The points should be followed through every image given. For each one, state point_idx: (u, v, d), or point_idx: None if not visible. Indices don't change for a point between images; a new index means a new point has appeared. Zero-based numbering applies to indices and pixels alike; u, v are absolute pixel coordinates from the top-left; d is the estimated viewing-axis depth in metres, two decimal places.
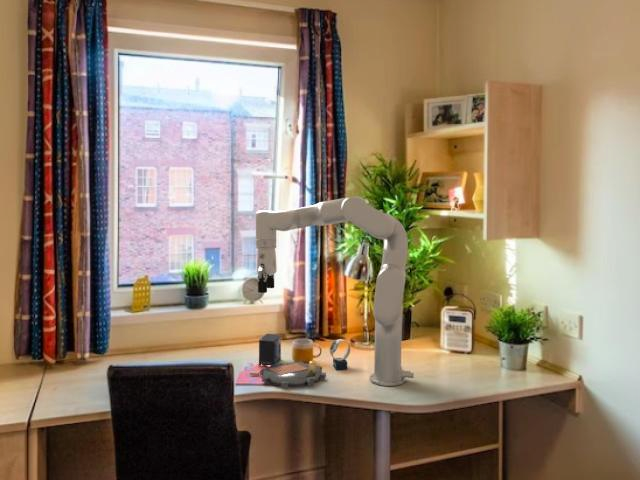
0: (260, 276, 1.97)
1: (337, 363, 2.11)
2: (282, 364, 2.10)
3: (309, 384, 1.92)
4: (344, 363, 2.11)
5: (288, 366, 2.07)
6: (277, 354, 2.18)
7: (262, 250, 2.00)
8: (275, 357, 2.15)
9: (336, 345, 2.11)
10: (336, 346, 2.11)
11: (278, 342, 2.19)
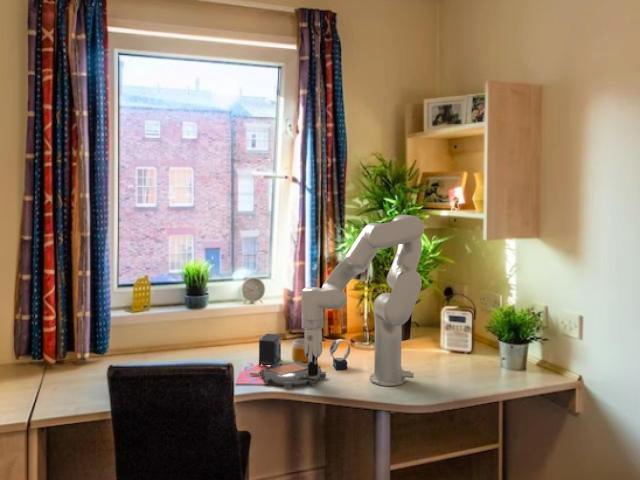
0: (311, 361, 1.90)
1: (337, 363, 2.11)
2: (280, 364, 2.09)
3: (312, 383, 1.92)
4: (344, 363, 2.11)
5: (287, 366, 2.06)
6: (277, 354, 2.18)
7: (310, 331, 1.88)
8: (275, 357, 2.15)
9: (336, 345, 2.11)
10: (336, 346, 2.11)
11: (278, 342, 2.19)
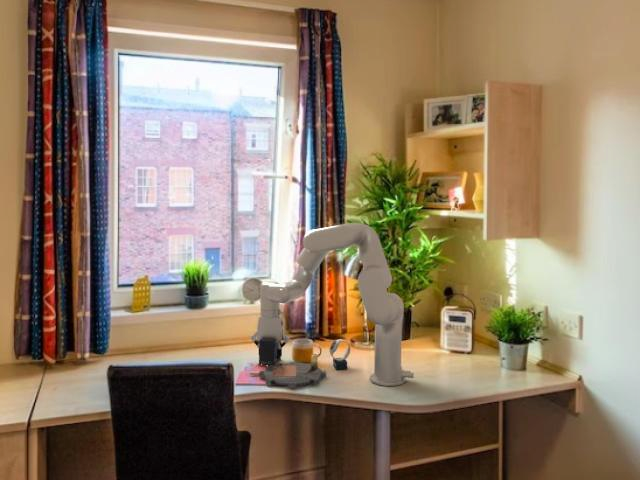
0: None
1: (337, 363, 2.11)
2: (268, 370, 2.02)
3: (325, 375, 2.02)
4: (344, 363, 2.11)
5: (278, 369, 2.03)
6: None
7: (281, 318, 2.18)
8: (275, 357, 2.15)
9: (336, 345, 2.11)
10: (336, 346, 2.11)
11: None
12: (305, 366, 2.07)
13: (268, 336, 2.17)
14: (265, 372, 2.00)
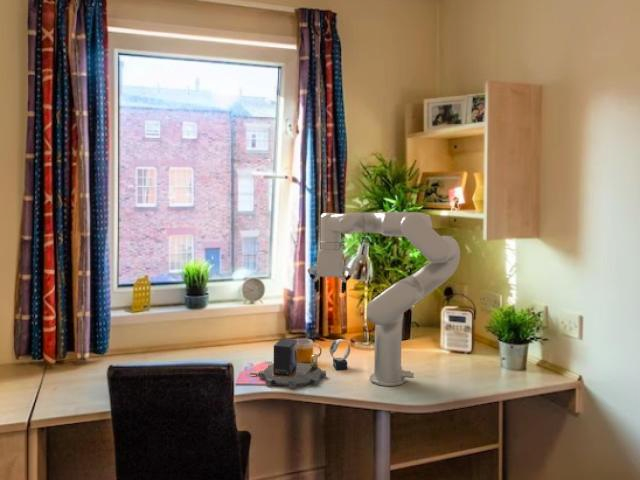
0: None
1: (337, 363, 2.11)
2: (268, 370, 2.02)
3: (325, 375, 2.02)
4: (344, 363, 2.11)
5: None
6: (293, 361, 2.01)
7: (342, 251, 2.05)
8: (290, 364, 1.98)
9: (336, 345, 2.11)
10: (336, 346, 2.11)
11: (294, 348, 2.02)
12: (305, 366, 2.07)
13: (329, 270, 2.04)
14: (265, 372, 2.00)
